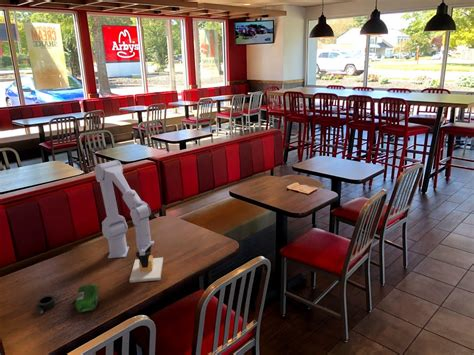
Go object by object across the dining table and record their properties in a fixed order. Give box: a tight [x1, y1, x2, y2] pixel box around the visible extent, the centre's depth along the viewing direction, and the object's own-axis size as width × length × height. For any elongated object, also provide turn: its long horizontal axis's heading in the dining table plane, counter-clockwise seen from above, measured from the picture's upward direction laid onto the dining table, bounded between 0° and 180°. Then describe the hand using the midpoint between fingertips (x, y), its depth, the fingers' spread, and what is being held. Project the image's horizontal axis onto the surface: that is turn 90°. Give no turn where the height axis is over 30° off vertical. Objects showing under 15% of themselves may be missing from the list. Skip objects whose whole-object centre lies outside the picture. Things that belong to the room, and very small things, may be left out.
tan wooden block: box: [139, 254, 154, 272], centre depth 160 cm, size 5×5×4 cm
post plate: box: [129, 257, 164, 283], centre depth 160 cm, size 16×12×4 cm
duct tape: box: [35, 293, 58, 315], centre depth 139 cm, size 8×10×3 cm
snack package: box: [75, 283, 99, 313], centre depth 140 cm, size 7×16×5 cm, turn 15°
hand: (146, 262), depth 160 cm, fingers open, 7 cm apart
